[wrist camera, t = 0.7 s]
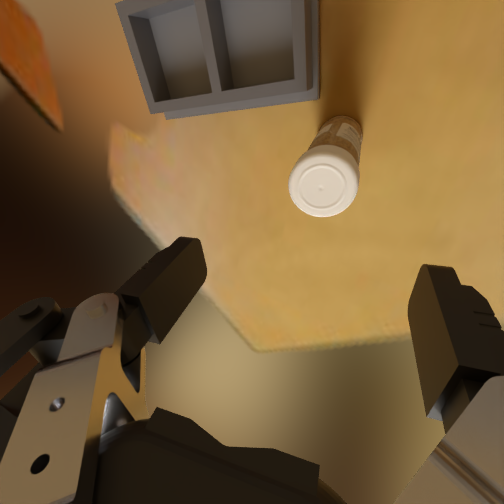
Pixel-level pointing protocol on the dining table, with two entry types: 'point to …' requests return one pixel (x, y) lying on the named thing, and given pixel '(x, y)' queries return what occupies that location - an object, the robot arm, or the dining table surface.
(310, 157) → the sprinkles bottle
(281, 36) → the caddy
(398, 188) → the dining table surface
